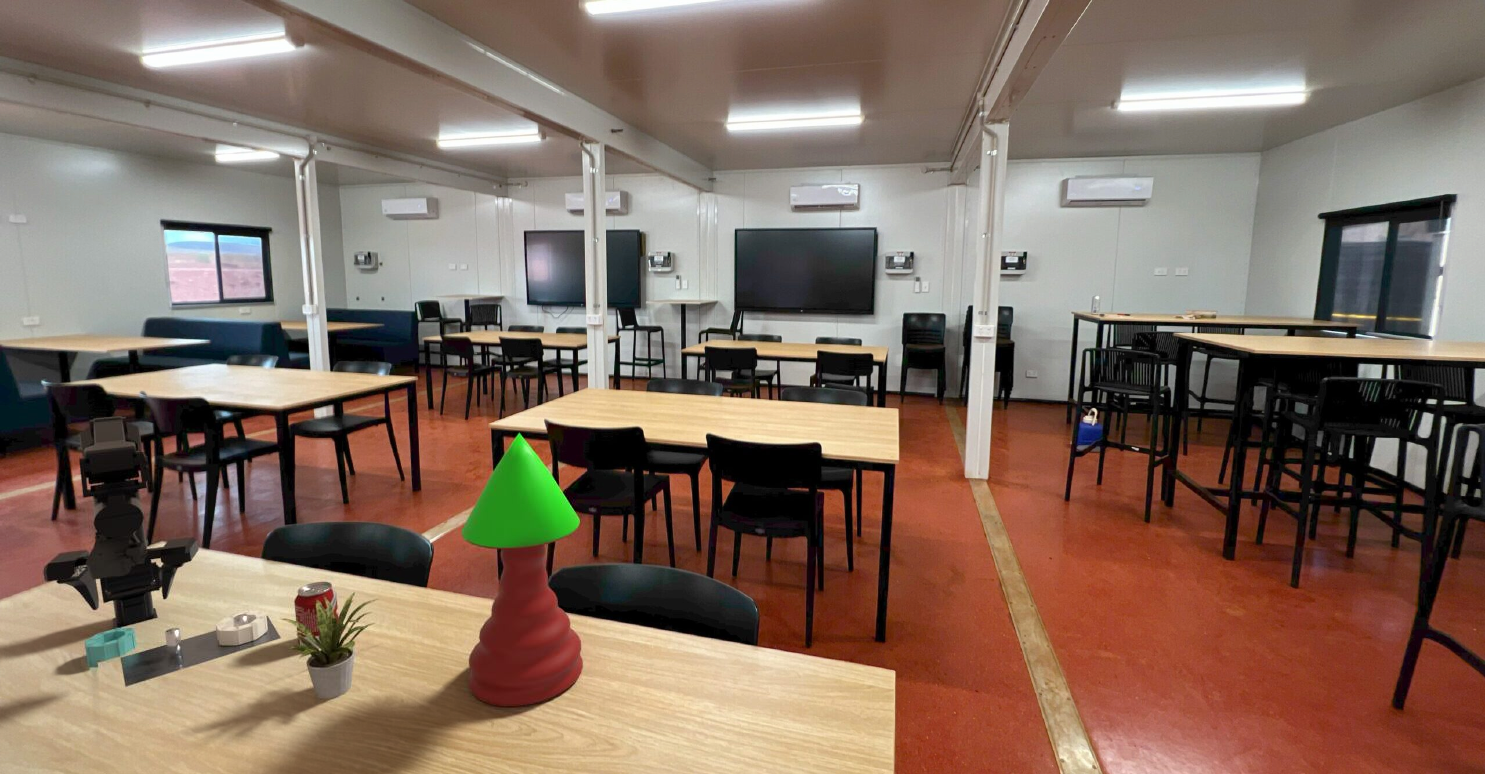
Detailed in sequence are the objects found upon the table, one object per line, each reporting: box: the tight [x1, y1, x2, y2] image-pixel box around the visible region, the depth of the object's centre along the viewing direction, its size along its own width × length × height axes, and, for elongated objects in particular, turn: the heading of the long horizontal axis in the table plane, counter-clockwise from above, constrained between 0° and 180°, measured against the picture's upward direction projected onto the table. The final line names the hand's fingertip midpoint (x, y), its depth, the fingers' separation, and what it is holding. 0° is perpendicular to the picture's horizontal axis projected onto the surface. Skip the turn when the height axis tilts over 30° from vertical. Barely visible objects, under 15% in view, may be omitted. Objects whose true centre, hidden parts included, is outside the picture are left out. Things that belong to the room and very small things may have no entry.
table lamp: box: [460, 432, 584, 707], centre depth 115 cm, size 20×20×45 cm
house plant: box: [279, 592, 378, 700], centre depth 112 cm, size 14×14×16 cm
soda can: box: [293, 581, 339, 650], centre depth 125 cm, size 7×7×12 cm
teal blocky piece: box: [84, 627, 137, 668], centre depth 121 cm, size 7×7×4 cm
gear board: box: [120, 614, 282, 687], centre depth 122 cm, size 12×22×6 cm, turn 136°
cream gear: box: [215, 610, 268, 646], centre depth 127 cm, size 8×8×3 cm
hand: (131, 603), depth 114 cm, fingers open, 9 cm apart
